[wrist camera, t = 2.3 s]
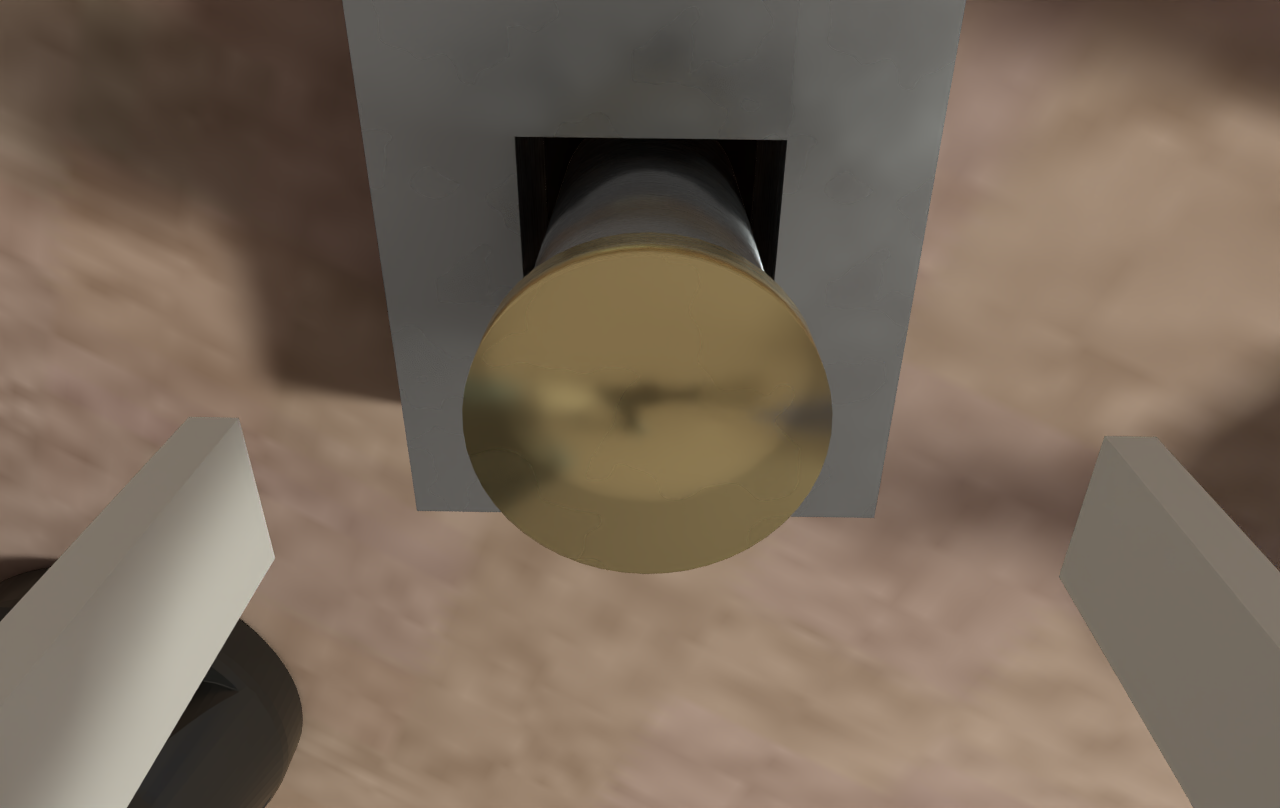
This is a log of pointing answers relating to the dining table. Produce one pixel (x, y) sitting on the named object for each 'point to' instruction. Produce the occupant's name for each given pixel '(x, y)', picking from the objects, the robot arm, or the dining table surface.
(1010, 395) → the dining table surface
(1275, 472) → the dining table surface
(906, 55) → the housing
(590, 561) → the grey and gold cylinder
